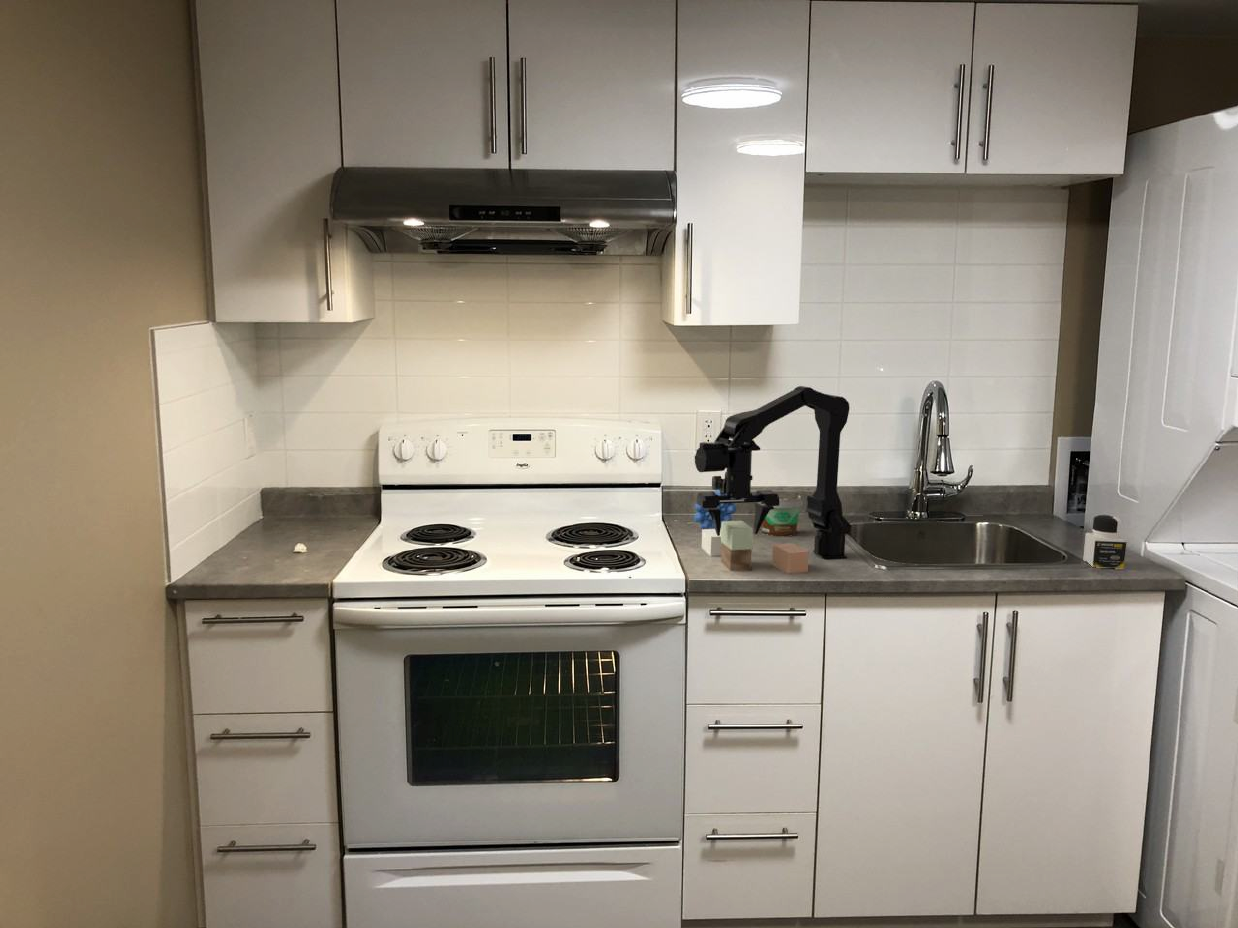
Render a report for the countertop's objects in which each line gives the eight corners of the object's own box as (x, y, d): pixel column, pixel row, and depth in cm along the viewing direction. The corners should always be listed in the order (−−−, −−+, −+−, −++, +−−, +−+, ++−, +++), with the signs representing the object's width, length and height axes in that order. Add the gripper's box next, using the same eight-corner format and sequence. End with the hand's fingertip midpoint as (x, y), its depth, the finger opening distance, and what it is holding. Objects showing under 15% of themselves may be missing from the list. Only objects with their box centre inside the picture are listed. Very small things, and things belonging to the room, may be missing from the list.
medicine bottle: (1092, 568, 234) (1097, 519, 232) (1082, 560, 241) (1087, 512, 239) (1124, 569, 233) (1129, 520, 231) (1113, 561, 240) (1118, 513, 238)
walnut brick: (741, 561, 238) (741, 541, 237) (750, 570, 230) (751, 549, 229) (721, 561, 237) (721, 541, 236) (730, 571, 229) (730, 550, 228)
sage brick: (740, 540, 237) (741, 520, 236) (752, 549, 229) (753, 528, 228) (720, 541, 236) (721, 521, 235) (731, 550, 228) (732, 529, 227)
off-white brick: (720, 547, 250) (721, 528, 249) (730, 555, 242) (730, 536, 241) (701, 548, 249) (702, 529, 248) (710, 556, 241) (711, 536, 240)
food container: (766, 538, 259) (767, 501, 257) (757, 533, 265) (758, 496, 263) (809, 536, 262) (810, 499, 261) (798, 530, 268) (800, 494, 266)
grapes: (734, 528, 270) (735, 485, 268) (737, 534, 264) (738, 490, 262) (692, 527, 270) (693, 484, 268) (694, 533, 264) (695, 489, 262)
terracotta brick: (790, 563, 236) (791, 543, 235) (807, 572, 229) (808, 551, 228) (772, 565, 235) (772, 544, 234) (789, 573, 227) (789, 553, 226)
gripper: (765, 462, 239) (762, 525, 242) (691, 464, 235) (689, 528, 238) (781, 471, 228) (778, 536, 231) (704, 473, 224) (702, 539, 227)
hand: (736, 534), depth 232 cm, fingers open, 9 cm apart
